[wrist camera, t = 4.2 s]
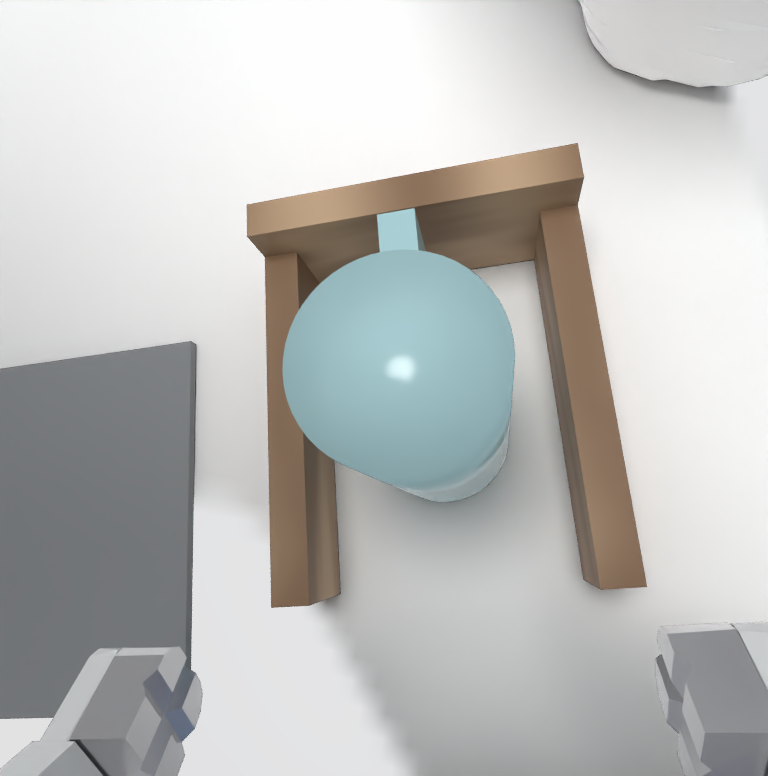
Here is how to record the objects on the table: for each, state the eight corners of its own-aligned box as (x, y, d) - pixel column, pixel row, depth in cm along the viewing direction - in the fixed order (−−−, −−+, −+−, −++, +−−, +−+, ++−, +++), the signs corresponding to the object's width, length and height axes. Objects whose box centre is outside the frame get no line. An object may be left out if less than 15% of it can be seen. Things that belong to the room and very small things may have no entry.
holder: (308, 595, 21) (250, 614, 16) (297, 269, 24) (246, 204, 19) (621, 577, 19) (661, 592, 14) (561, 226, 22) (577, 142, 17)
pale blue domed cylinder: (383, 507, 21) (285, 486, 11) (371, 326, 23) (277, 178, 13) (516, 496, 20) (530, 463, 11) (492, 309, 22) (485, 138, 12)
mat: (-46, 716, 22) (-55, 719, 22) (-7, 373, 26) (-15, 371, 25) (190, 711, 20) (184, 714, 20) (195, 344, 24) (190, 341, 24)
